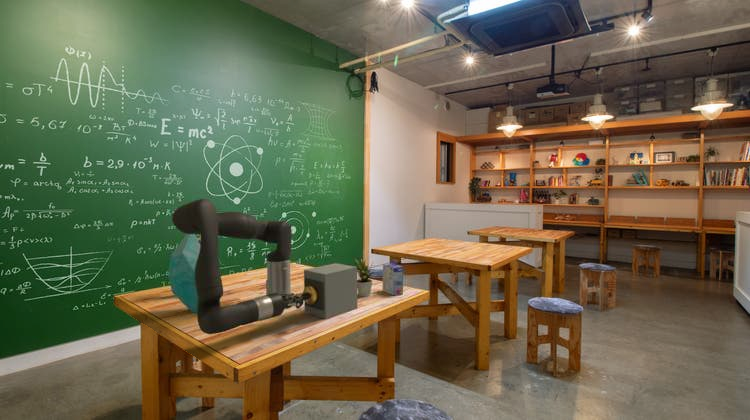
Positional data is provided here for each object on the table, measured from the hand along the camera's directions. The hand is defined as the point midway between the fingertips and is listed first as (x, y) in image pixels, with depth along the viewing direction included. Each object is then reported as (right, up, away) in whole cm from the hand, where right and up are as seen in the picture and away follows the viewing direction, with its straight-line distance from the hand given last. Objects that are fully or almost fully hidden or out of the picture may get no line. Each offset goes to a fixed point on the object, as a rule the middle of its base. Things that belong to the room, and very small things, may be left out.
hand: (308, 295), depth 132 cm
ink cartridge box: (+32, -6, +32) cm, 46 cm away
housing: (+7, -8, +8) cm, 13 cm away
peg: (+5, -3, +6) cm, 8 cm away
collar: (+2, -5, +2) cm, 6 cm away
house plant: (+18, -7, +29) cm, 35 cm away
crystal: (-45, -8, +8) cm, 47 cm away
